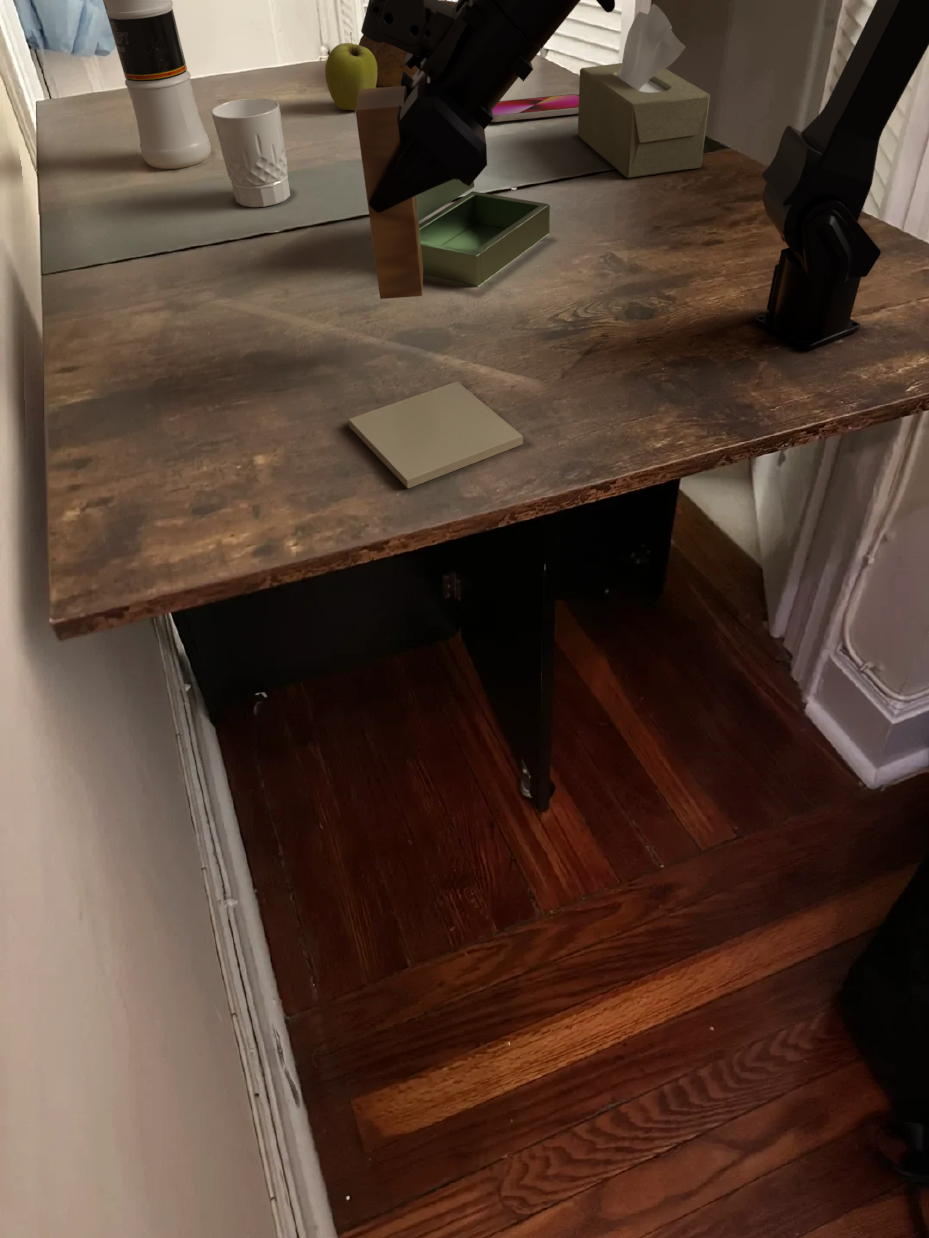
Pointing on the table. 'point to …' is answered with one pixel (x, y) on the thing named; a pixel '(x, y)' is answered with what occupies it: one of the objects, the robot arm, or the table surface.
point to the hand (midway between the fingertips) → (375, 194)
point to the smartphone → (536, 107)
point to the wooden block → (399, 223)
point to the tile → (434, 433)
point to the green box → (480, 236)
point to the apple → (350, 73)
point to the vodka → (158, 83)
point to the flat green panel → (440, 197)
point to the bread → (390, 60)
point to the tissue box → (644, 105)
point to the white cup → (253, 150)
